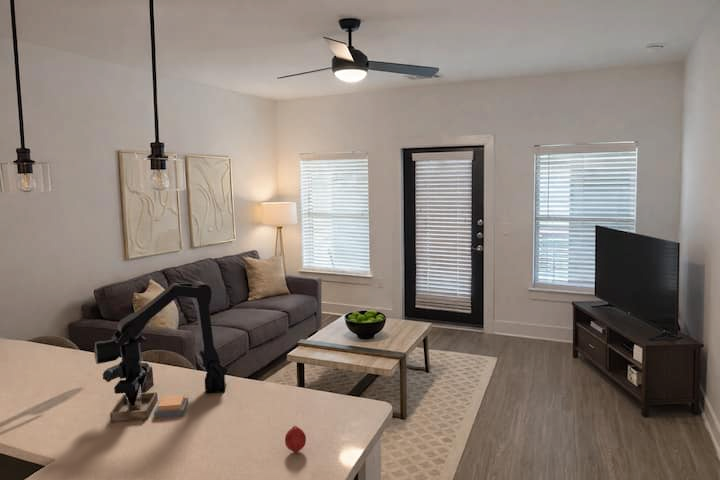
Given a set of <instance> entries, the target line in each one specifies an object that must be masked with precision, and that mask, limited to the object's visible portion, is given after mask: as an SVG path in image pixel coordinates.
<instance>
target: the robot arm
mask: <svg viewBox="0 0 720 480" xmlns="http://www.w3.org/2000/svg"><path fill="white" fill-rule="evenodd" d="M212 294H213V293H212V288H211V286H209V285H208V284H206V283H204V282H202V281H193V283H187V282H186V283H177V282H174V283H170V284H169V285H168V287H166V288H165V289H164V290H162V292H161V293H160V294H158V295H156V296H155V297H154V298H153V299H152V300H151V301H149V302H148V303H147V304H146V305H144V306H143V307H141V308H140V309H139V310H137V311H135V312H132V313H130V314H128V315H126V316H125V317H123V318H122V319H120V320H119V322H118V323H117V329H116V330H115V332H114V333H113V335H112V336H111V339H108V340H103V341H100V340H99V341H96V342H94V351H93V352H94V354H93V355H94V360H95V363H96V365H100V364H105V363H109V362H114V361H117V360H118V359H119V357H120V356H121V358H120V359H121V361H120V362H119V364H115V365H113V366H111V367H108V368H106V369H105V370H104V371H103V373H102V380H104V381H106V383H110V382H111V381H112V380H115V379H118V378H119V379H120V380H119V381H118V382H117V383H116V384H115V386H114V387H113V390H114V394H126V396H127V398H128V400H129V403H130V405H131V406H134V405H135V402H136V399H137V395H138V392H139V389H140V385H141V390H142V387H143V385H144V382H145V379H146V377H147V375H142V373H143V372H144V370H145V372H146V373H148V372H149V370H150V367H149V366H150V364H149V363H148V362H142V361H143V360H144V359H143V358H144V357H143V356H142V355H141V344H142V343H146V342H147V339H146V337H144V336H142V335H141V333H142V332H143V330H145V327H146V325H148V323H149V322H150V321H151V319H153V318H154V317H155V316H156V315H158V314H159V313H160V312H161V311H162V310H164V309H165V308H166V307H167V306H169V305H170V304H171V303H172V302H173V301H174V300H176V299H177V298H178V297H183V298H184V297H185V298H191V300H192V303H193V305H194V306H195V311H196V318H197V325H198V334H199V342H200V348H199V350H198V351H195V355H196V363H197V364H198V365H199V366H200V367H201V368H202V369H203V370H204V371H205V372H206V374H205V377H204V389H205V393H206V394H215V393H225V392H226V388H227V383H226V375H227V372H228V368H227V367H226V366H224V365H223V364H221V360H220V356H219V354H218V352H217V349H216V347H215V344H214V336H213V328H212V321H211V320H212V319H211V312H210V306H211V304H212ZM138 384H140V385H138Z"/></svg>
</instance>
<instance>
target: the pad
mask: <svg viewBox="0 0 720 480" xmlns="http://www.w3.org/2000/svg"><path fill="white" fill-rule="evenodd" d="M185 398H186V397H185V395H183V394H182V395H170V396H169V395H168V396H162V397H161V399H160V400H161V401H160V400H159V402H160V403H159V402H158V404H159V405H158V404H157V406H158V411H165V410H178V409H182V407H183V404H184V402H185Z"/></svg>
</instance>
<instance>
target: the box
mask: <svg viewBox="0 0 720 480" xmlns="http://www.w3.org/2000/svg"><path fill="white" fill-rule="evenodd" d="M149 367H150V370H149V372H148V373H146V372H145V370H144V372H143V373H142V375H147V377H146V379H145V382H144V385H143V387H142V390H141V392H144V393H147V391H148V390H149V389H151V388H152V387H153V386H154V375H153V374H154V373H153V366H150V365H149Z"/></svg>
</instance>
